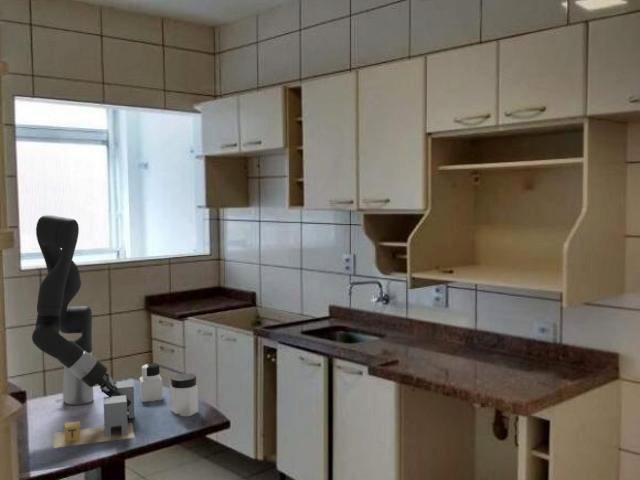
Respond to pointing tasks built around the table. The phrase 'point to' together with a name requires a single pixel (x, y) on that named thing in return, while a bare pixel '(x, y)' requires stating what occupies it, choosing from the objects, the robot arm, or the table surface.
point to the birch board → (92, 436)
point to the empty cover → (115, 414)
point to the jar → (184, 394)
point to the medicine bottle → (151, 383)
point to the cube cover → (127, 394)
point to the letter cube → (72, 431)
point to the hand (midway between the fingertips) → (128, 401)
